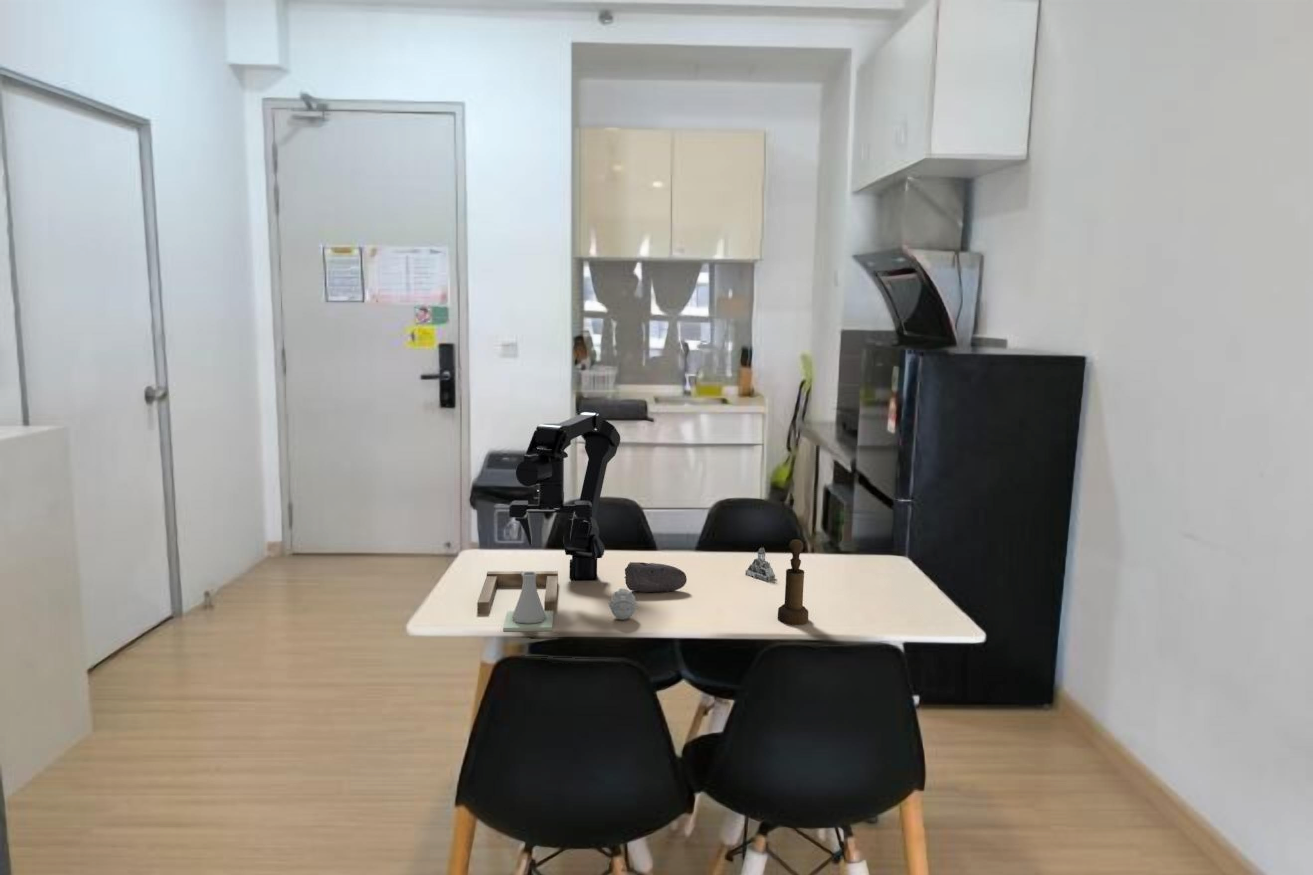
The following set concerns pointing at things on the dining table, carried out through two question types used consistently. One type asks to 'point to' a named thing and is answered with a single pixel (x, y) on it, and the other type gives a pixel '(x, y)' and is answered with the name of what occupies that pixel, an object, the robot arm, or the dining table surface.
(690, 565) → the dining table surface
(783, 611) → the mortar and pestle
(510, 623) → the pad
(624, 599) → the frog figurine
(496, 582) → the frame
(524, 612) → the flask
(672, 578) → the perforated stone tool
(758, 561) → the grey temple model
